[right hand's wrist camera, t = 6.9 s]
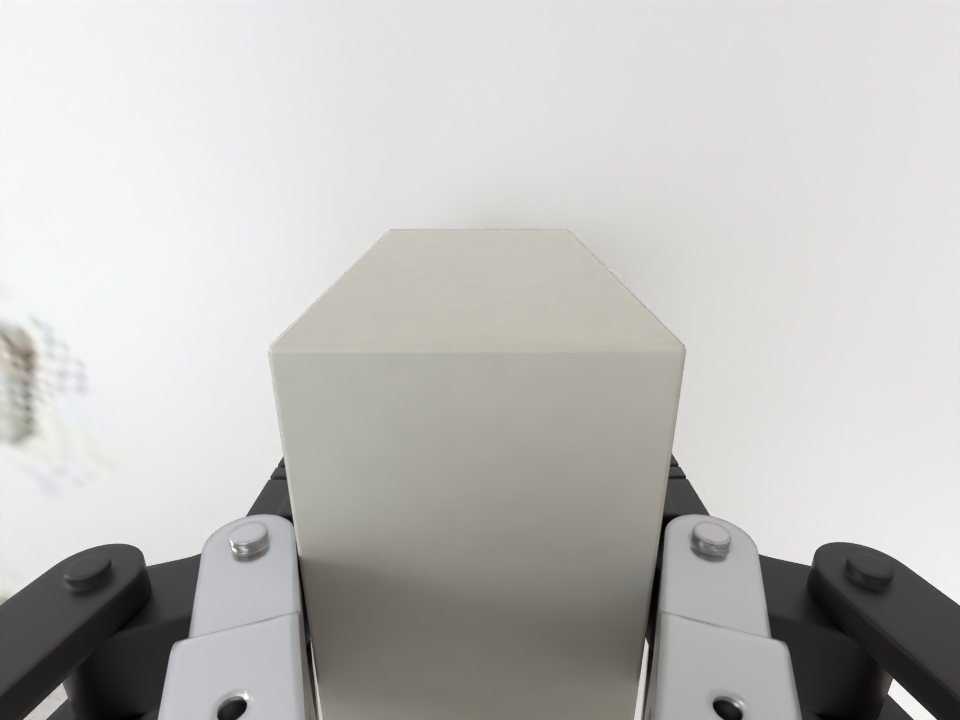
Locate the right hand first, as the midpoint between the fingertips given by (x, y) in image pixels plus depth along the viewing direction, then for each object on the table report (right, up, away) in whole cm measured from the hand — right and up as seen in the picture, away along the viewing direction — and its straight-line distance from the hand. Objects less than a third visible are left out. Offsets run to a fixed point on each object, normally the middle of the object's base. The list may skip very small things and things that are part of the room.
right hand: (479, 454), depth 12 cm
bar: (0, -5, +7) cm, 9 cm away
